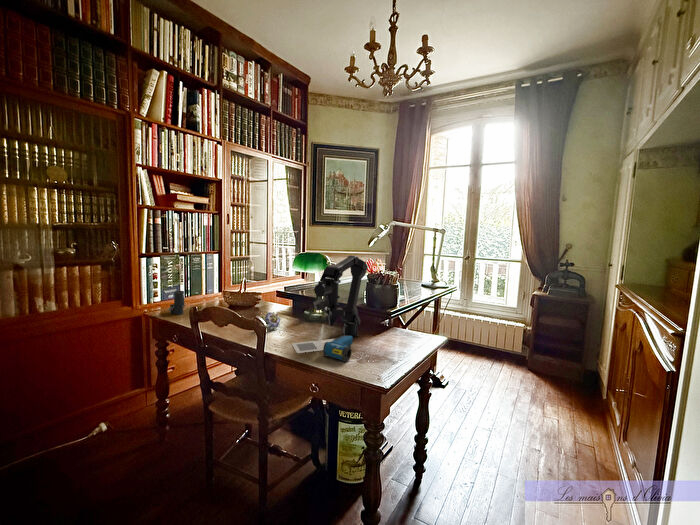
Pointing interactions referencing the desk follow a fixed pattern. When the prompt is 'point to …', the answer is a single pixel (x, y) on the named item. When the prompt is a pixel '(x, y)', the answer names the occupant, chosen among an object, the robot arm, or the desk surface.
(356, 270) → the robot arm
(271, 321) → the passion flower
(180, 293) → the scope
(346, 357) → the infrared thermometer
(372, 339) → the desk surface
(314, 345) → the label panel
